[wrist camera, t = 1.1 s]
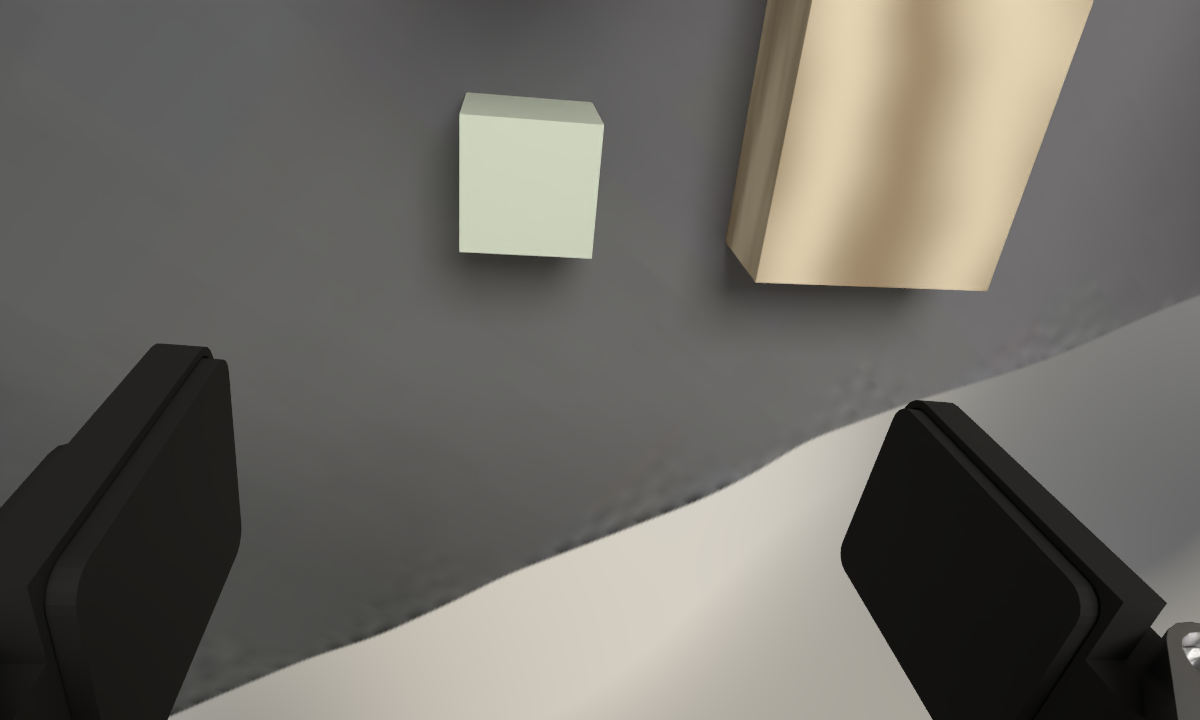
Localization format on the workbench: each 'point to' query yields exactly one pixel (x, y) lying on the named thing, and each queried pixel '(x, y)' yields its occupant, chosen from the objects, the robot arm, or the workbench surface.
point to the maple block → (895, 137)
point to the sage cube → (528, 175)
